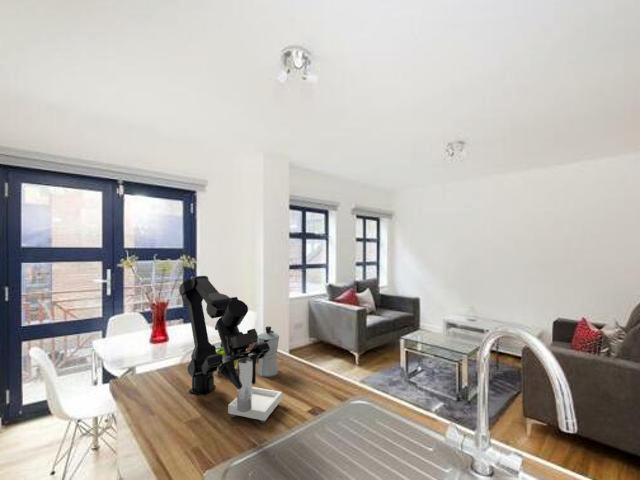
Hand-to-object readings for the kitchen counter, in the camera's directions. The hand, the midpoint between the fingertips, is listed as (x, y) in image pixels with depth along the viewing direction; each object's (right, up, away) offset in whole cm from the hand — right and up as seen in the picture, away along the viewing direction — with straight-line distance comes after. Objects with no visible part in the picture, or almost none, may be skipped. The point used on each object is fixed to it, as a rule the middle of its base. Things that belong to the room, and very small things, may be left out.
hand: (247, 386), depth 85 cm
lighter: (-9, -12, +53) cm, 55 cm away
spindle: (-1, -7, +1) cm, 7 cm away
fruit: (-18, -13, +40) cm, 46 cm away
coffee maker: (-1, -13, +40) cm, 42 cm away
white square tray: (0, -13, +12) cm, 18 cm away
